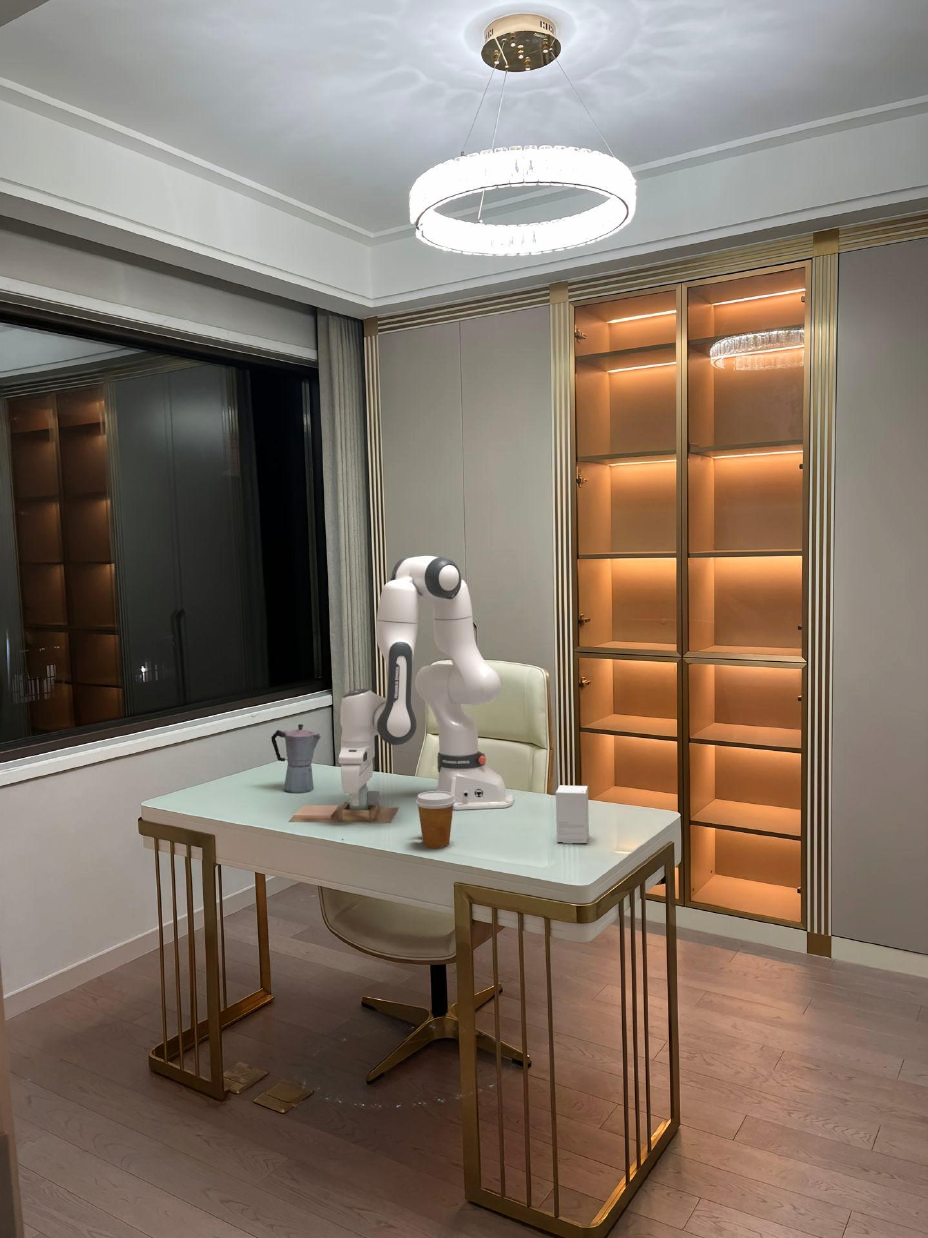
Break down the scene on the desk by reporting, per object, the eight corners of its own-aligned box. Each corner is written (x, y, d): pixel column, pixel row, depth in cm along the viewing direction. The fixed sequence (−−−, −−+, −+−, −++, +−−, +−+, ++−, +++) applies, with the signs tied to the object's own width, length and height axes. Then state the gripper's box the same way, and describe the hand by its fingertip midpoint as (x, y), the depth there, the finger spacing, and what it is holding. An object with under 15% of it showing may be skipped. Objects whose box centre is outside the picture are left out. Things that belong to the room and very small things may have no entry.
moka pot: (320, 793, 278) (318, 726, 277) (268, 794, 278) (266, 727, 277) (325, 786, 288) (324, 721, 286) (275, 786, 288) (273, 721, 287)
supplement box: (589, 836, 232) (589, 785, 231) (586, 845, 225) (586, 793, 224) (559, 834, 234) (559, 784, 233) (555, 843, 227) (555, 791, 226)
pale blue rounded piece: (381, 813, 252) (380, 785, 251) (377, 818, 247) (377, 790, 246) (352, 812, 253) (351, 785, 252) (347, 817, 248) (347, 789, 247)
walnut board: (399, 811, 258) (399, 798, 257) (390, 826, 243) (390, 813, 242) (303, 810, 260) (302, 797, 260) (288, 825, 245) (287, 812, 245)
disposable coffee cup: (459, 839, 231) (458, 791, 230) (452, 851, 222) (451, 801, 221) (421, 837, 233) (420, 790, 232) (412, 849, 223) (411, 799, 223)
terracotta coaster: (339, 808, 258) (339, 805, 257) (330, 818, 248) (330, 815, 248) (303, 808, 258) (303, 805, 258) (293, 818, 248) (293, 815, 248)
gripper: (355, 742, 260) (356, 792, 260) (336, 758, 239) (338, 812, 240) (377, 743, 259) (378, 792, 260) (360, 758, 239) (362, 812, 239)
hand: (359, 802), depth 250 cm, fingers closed on pale blue rounded piece, 5 cm apart
